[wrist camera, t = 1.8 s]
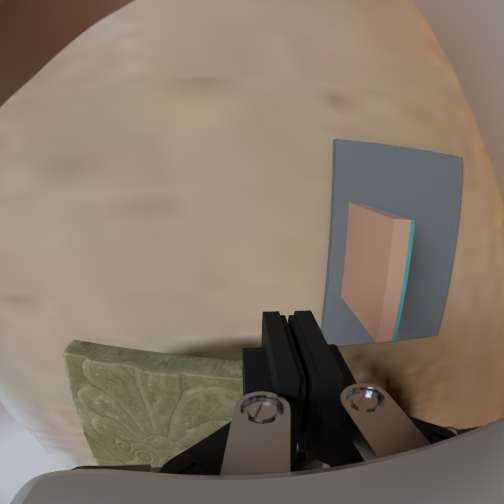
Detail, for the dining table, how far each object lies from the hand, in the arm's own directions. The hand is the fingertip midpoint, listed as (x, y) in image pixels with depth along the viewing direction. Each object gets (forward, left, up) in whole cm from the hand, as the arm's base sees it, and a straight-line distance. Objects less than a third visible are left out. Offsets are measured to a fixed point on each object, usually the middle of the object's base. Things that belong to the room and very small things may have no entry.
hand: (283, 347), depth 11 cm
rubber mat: (0, -13, -16) cm, 20 cm away
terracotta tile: (0, -8, -15) cm, 17 cm away
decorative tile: (-20, +10, -17) cm, 28 cm away
